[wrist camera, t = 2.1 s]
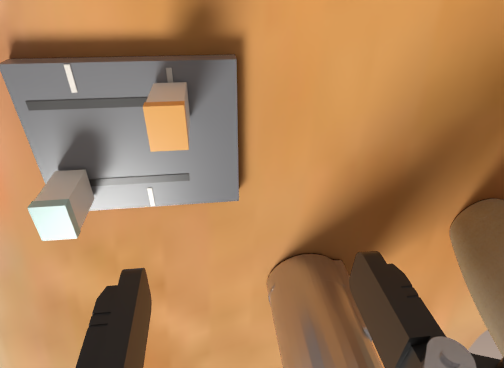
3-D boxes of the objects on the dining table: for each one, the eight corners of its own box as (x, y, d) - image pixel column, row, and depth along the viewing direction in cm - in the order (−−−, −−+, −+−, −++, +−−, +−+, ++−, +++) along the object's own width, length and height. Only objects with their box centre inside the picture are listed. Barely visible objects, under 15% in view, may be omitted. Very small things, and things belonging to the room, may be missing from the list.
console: (234, 54, 26) (236, 59, 25) (237, 191, 33) (238, 201, 32) (9, 58, 24) (-3, 64, 23) (63, 202, 31) (56, 213, 30)
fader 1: (85, 168, 28) (65, 205, 24) (95, 199, 29) (77, 238, 25) (54, 170, 27) (27, 207, 23) (65, 201, 29) (42, 240, 25)
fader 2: (187, 81, 25) (183, 105, 21) (190, 120, 27) (188, 149, 22) (152, 82, 25) (142, 106, 20) (158, 121, 26) (150, 151, 22)
